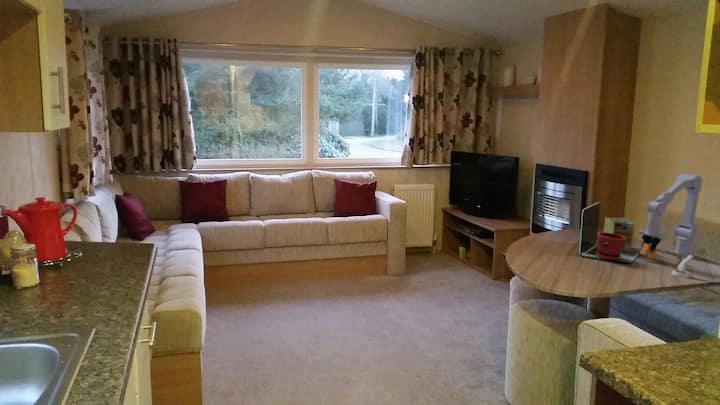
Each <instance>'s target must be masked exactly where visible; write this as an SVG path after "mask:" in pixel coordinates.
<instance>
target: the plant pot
mask: <svg viewBox="0 0 720 405" xmlns="http://www.w3.org/2000/svg"><path fill="white" fill-rule="evenodd" d="M625 241H626V238H625V237H624V236H621V235H618V234H613V233H606V232H602V231H601V232H598V233H597V236H596V248H597V250H596V251H595V254H596V256H598V257H599V258H601V259H603V260H609V261H613V260H615V261H617V260H620V258H621V254H622V253H623V251H622V250H623V248H624V245H625ZM606 243H607V244H606ZM617 245H618V247H617Z"/></svg>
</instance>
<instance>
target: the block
mask: <svg viewBox="0 0 720 405" xmlns="http://www.w3.org/2000/svg"><path fill="white" fill-rule="evenodd" d="M641 247H642V246H641ZM650 248H651V244H650V245H649V244H646V243H644V245H643V247H642V250H641V249H640V251H641V252H640V253H639V254H640V255H643V256H646V258H648V259H650V260H654V259H655V258H654V257H655V254H656V253H657V252H658V251H657V250H658V249H655V251H654V252H651V251H650ZM647 252H649V254H648V255H646V254H647Z"/></svg>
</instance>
